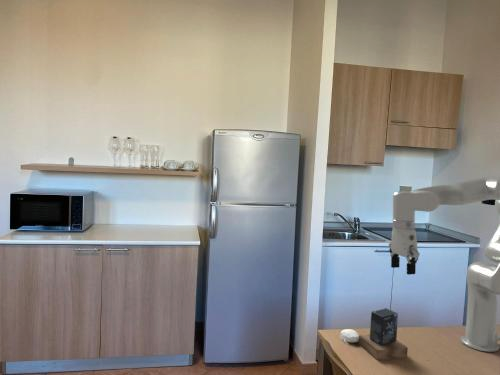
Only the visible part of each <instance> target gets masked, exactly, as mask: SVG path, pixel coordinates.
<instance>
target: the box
mask: <svg viewBox="0 0 500 375" xmlns="http://www.w3.org/2000/svg"><path fill="white" fill-rule="evenodd" d="M398 318H399V314H398V313H397V312H396V311H393V310H391V309H389V308H382V309H378V310H374V311H373V310H372V311H371V316H370V329H369V330H370V331H369V332H370V333H369V334H370V340H372V341H374V342H375V343H377V344H379V345H381V346H382V345H385V344H388V343H392V342H396V340H397V337H398V335H397V333H398Z"/></svg>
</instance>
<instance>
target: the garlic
mask: <svg viewBox="0 0 500 375" xmlns="http://www.w3.org/2000/svg"><path fill="white" fill-rule="evenodd" d="M339 335H340V339H341V340H342V341H343V342H344V343H345V344H346V345H349V343H351V344H353V343H359V333H358V332H357V331H356V330H354V329H350V328H348V329H347V328H346V329H343V330H341V331H340V334H339Z"/></svg>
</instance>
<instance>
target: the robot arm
mask: <svg viewBox="0 0 500 375" xmlns="http://www.w3.org/2000/svg"><path fill="white" fill-rule="evenodd" d="M489 200H493V201H495V202H494V207H495V209H496V211H497V214H498V218H499V219H498V220H499V221H498V225H497V227H496V230H495V231H494V233H493V234H492V236H491V238H490V239H489V241H488V242H487V244H486V246H485V248H484V252H483V253H484V256H485V257H486V258H487V260H489V261H491V262H493V263H496V264H498V265H494V264H491V263H488V262H485V261H475V262H472V263H471V264H470V265H468V268H467V270H466V280H467V281H466V282H467V293H468V294H467V305H466V306H467V308H466V321H465V322H466V324H465V334H463V335H461V336H460V342H461V343H462V344H463V345H464V346H466V347H468V348H471V349H475V350H477V351H480V352H481V351H482V352H488V353H493V352H497V351H499V350H500V344H498V343H497V342H500V334H497V333H496V324H497V308H498V296H497V295H499V296H500V176H484V177H479V178H474V179H469V180H464V181H457V182H454V183H452V182H451V183H446V184H439V185H434V186H427V187H422V188H417V189H416V188H415V189H412V190H411V191H402V190H401V191H395V192H394V193H393V195H392V229H391V230H392V231H391V240H390V241H391V242H390V243H388V248H389V253H390V257H391V258H390V259H391V260H390V264H391V265H390V267H391V268H392V269H393V268H400V256H401V257H403V258H405V259H406V262H407V263H406V274H407V275H415V274H416V264H417V263H418V262H417V261H418V260H419V256H420V252H419V251H418V239H417V231H416V229H415V222H416V219H415V218H416V216H415V215H416V214H415V212H417V211H418V212H426V213H430V212H434V211H435V210H436V209H438V208H439V206H442V205H443V206H447V205H448V206H463V205H469V204H473V203H479V202H483V201H484V202H485V201H489Z"/></svg>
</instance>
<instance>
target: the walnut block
mask: <svg viewBox="0 0 500 375" xmlns="http://www.w3.org/2000/svg"><path fill="white" fill-rule="evenodd" d="M358 345H359V346H360V348H362V349H363V350H364V351H365V352H367V353H368V354H369V355H370V356H371V357H373V358H374V359H375V360H376V361H381V360H392V359H404V358H408V349H409V348H408V347H407V346H406V345H404V344H403V343H402V342H400V341H399V340H397V339H396V342H392V343H388V344H385V345H382V346H381V345H379V344H377V343H375V342H374V341H372V340H370V333H369V334H360V335H359V341H358Z"/></svg>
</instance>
